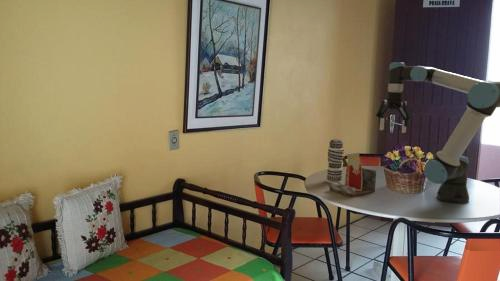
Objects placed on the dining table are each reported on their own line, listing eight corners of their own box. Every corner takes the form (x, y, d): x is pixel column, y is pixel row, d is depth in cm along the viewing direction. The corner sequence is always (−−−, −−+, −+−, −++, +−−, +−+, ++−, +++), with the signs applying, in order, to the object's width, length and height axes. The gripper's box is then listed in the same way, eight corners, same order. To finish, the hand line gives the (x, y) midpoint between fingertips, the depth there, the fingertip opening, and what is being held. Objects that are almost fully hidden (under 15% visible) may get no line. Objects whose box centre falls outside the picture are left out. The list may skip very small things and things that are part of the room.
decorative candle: (342, 184, 250) (344, 141, 246) (325, 182, 252) (328, 140, 248) (342, 180, 259) (344, 139, 255) (326, 179, 260) (328, 138, 257)
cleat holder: (374, 191, 234) (376, 170, 232) (352, 197, 222) (354, 174, 220) (351, 185, 246) (352, 165, 244) (328, 190, 234) (330, 168, 233)
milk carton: (359, 186, 238) (361, 151, 235) (362, 191, 229) (364, 154, 226) (342, 186, 239) (344, 150, 236) (345, 190, 230) (347, 153, 227)
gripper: (420, 92, 223) (417, 133, 226) (379, 91, 243) (376, 128, 246) (412, 92, 219) (409, 134, 222) (371, 90, 238) (368, 129, 241)
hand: (392, 131), depth 234 cm, fingers open, 13 cm apart
